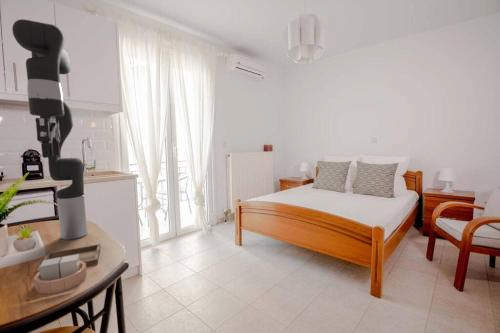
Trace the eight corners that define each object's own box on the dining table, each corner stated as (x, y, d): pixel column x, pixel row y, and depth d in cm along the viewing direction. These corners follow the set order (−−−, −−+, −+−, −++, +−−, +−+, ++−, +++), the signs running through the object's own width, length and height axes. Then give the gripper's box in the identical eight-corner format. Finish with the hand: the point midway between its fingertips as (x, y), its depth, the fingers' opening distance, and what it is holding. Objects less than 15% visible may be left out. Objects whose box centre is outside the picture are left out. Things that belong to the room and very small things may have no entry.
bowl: (42, 277, 74) (41, 266, 74) (88, 267, 79) (87, 257, 79) (30, 299, 64) (28, 286, 63) (83, 286, 69) (82, 275, 69)
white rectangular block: (64, 276, 73) (62, 256, 73) (80, 272, 75) (79, 253, 75) (61, 283, 70) (59, 262, 69) (78, 279, 72) (76, 259, 71)
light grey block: (45, 280, 71) (43, 260, 71) (62, 276, 73) (60, 257, 73) (41, 287, 68) (39, 266, 67) (60, 283, 70) (57, 263, 69)
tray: (48, 258, 86) (47, 252, 85) (100, 248, 93) (100, 243, 93) (36, 277, 74) (35, 271, 74) (97, 265, 81) (97, 259, 81)
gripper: (36, 101, 74) (42, 155, 76) (19, 93, 61) (26, 158, 63) (67, 102, 77) (71, 154, 79) (57, 95, 65) (62, 157, 66)
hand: (51, 156), depth 71 cm, fingers open, 8 cm apart
